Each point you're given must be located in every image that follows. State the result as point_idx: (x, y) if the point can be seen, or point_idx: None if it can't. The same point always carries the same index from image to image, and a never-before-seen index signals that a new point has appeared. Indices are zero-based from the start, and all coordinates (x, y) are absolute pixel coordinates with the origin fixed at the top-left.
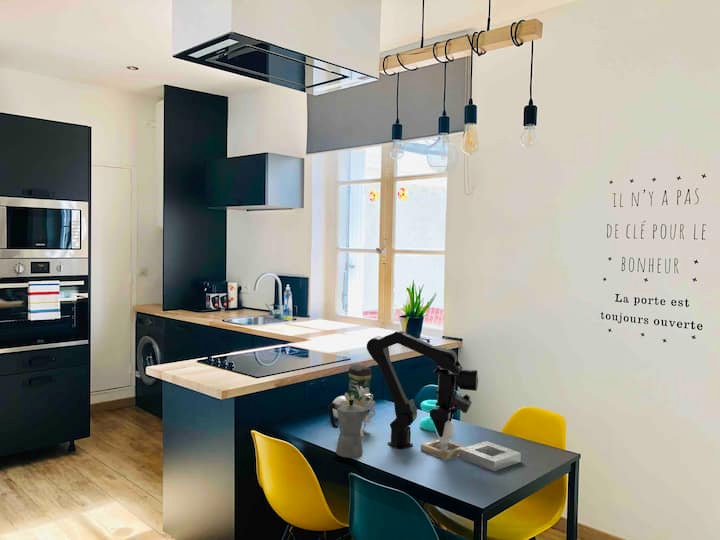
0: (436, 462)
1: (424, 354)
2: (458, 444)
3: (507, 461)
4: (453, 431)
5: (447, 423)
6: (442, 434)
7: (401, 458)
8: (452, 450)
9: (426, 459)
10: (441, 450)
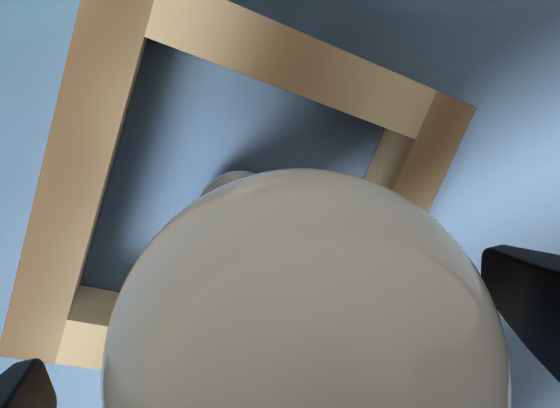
0: (524, 137)
1: None
2: (68, 101)
3: None
4: (302, 170)
5: (483, 371)
6: (542, 255)
7: (542, 364)
8: (339, 80)
9: (493, 231)
10: (401, 182)
